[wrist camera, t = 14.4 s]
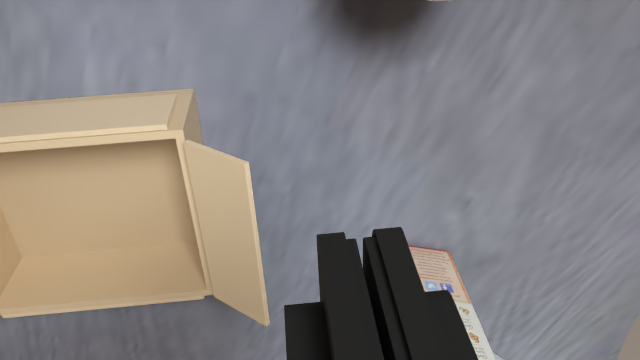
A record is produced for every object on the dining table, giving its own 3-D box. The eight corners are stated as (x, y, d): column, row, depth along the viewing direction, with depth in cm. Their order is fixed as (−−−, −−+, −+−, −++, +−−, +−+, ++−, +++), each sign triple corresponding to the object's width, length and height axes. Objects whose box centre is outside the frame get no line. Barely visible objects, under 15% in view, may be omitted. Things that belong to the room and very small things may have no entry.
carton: (-50, 101, 41) (-101, 145, 35) (192, 83, 42) (181, 123, 36) (21, 262, 50) (-11, 320, 44) (221, 244, 51) (216, 298, 45)
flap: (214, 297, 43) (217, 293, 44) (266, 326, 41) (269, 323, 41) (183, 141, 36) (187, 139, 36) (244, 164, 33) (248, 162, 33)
